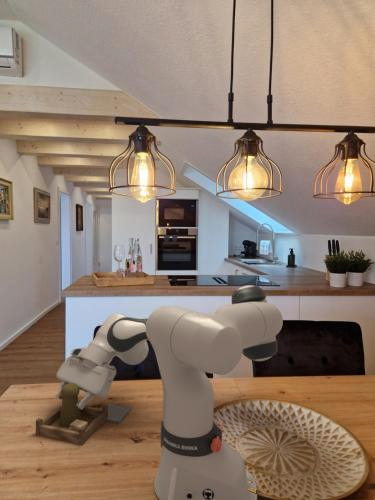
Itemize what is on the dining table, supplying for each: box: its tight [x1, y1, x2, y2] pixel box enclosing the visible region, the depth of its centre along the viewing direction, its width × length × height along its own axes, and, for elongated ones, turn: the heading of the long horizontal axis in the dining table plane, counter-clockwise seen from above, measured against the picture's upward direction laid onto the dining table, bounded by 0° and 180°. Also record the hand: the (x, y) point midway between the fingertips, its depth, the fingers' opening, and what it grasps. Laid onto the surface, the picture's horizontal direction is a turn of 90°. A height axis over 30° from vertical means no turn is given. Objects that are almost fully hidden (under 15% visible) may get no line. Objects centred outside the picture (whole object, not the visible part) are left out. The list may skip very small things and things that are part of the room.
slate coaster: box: [94, 403, 132, 425], centre depth 100 cm, size 8×8×1 cm
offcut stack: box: [68, 419, 89, 432], centre depth 89 cm, size 5×4×4 cm
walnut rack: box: [35, 404, 108, 446], centre depth 94 cm, size 15×13×4 cm
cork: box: [58, 383, 82, 429], centre depth 96 cm, size 6×6×11 cm
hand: (68, 403), depth 95 cm, fingers open, 8 cm apart
